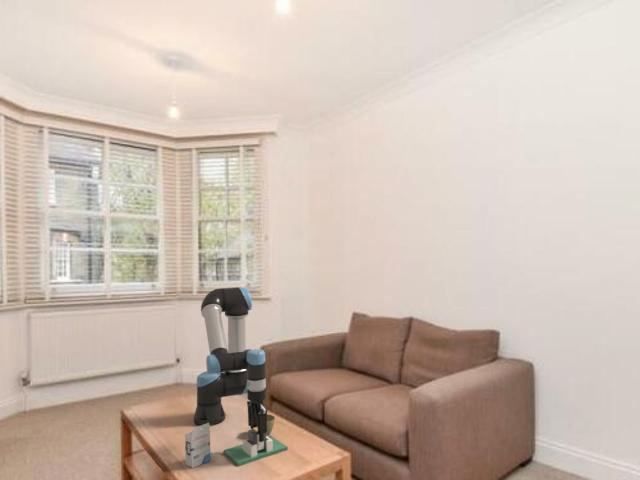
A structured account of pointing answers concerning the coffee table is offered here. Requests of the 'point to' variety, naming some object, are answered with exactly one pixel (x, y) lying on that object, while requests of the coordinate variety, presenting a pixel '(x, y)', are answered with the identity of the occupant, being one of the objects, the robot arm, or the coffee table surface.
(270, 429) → the flower pot
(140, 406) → the coffee table surface
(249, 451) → the board
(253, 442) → the plug
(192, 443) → the ink box
